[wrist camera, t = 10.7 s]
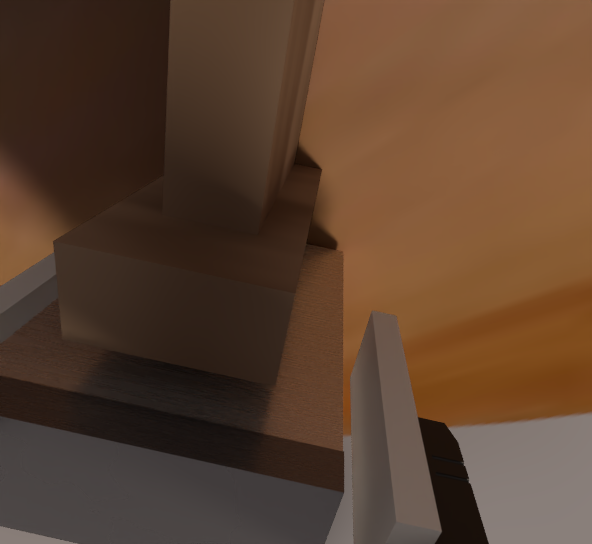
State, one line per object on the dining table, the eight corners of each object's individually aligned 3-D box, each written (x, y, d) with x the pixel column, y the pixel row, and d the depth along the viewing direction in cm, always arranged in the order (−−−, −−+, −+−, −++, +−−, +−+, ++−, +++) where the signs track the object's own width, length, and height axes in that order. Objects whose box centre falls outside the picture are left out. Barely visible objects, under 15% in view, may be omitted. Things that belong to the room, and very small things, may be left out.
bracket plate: (160, 282, 17) (-40, 517, 8) (163, 210, 16) (-76, 400, 7) (325, 318, 17) (305, 594, 8) (344, 249, 16) (344, 493, 7)
